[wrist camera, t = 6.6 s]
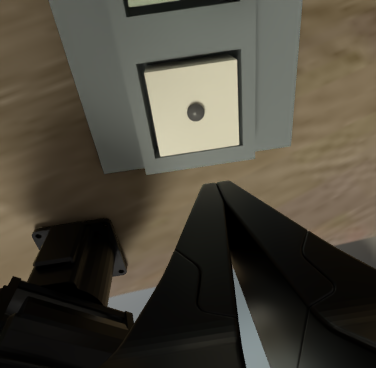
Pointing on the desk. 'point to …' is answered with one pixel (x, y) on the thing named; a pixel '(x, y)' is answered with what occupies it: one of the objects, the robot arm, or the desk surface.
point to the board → (176, 51)
